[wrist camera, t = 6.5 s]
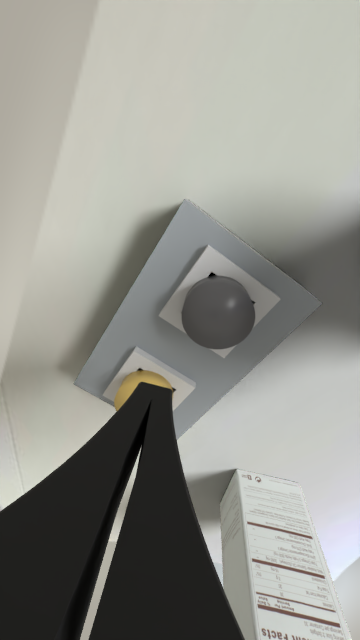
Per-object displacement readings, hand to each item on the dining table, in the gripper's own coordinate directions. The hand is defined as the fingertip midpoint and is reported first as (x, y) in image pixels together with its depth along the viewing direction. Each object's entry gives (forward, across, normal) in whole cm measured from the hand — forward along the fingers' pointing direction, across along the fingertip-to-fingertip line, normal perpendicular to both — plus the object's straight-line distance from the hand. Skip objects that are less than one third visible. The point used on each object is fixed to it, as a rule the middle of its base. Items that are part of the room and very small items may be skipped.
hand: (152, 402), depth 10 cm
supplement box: (+10, -14, +20) cm, 26 cm away
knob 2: (+10, -2, -2) cm, 10 cm away
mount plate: (+10, -1, +2) cm, 10 cm away
